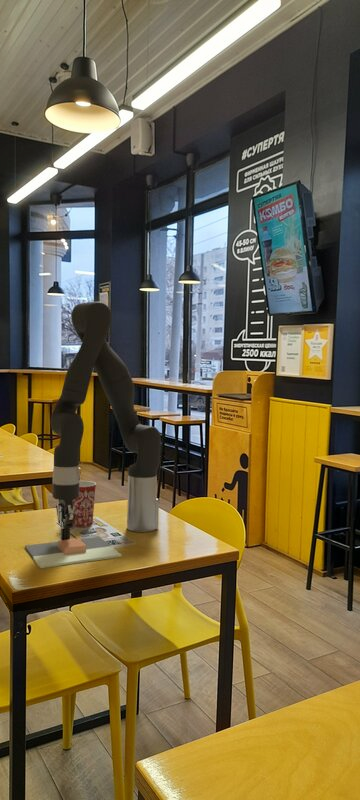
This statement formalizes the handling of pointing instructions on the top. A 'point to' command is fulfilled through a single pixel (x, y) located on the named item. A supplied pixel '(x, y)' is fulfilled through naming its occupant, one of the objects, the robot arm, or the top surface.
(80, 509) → the mug
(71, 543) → the tile
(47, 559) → the mat
